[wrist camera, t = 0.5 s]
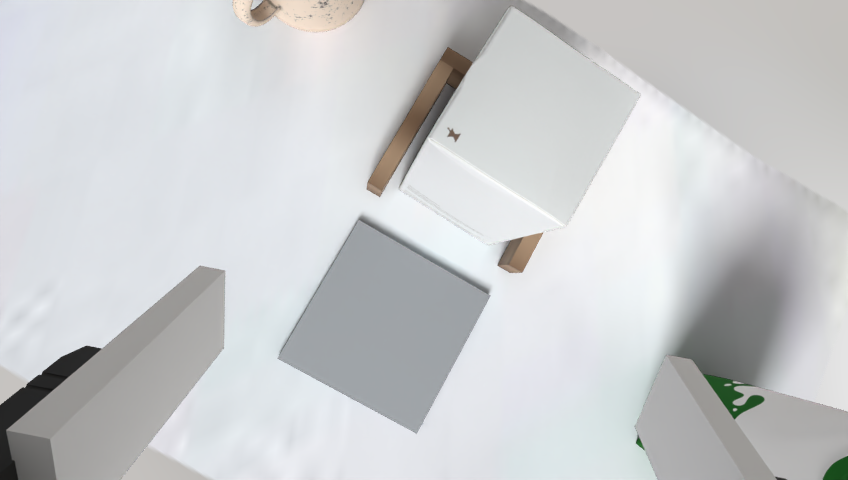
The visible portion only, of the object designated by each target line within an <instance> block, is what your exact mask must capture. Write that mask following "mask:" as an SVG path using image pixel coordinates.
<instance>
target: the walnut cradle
mask: <svg viewBox="0 0 848 480" xmlns="http://www.w3.org/2000/svg"><path fill="white" fill-rule="evenodd" d="M472 64H473V62H471V61H470V60H468V59H466V58H465V57H463V56H462V55H460V54H458V53H457V52H455V51H453V50H452V49H450V48H449V47H447V49H446V51H445V52H444V54H443V56H442V58H441V59H440V61H439V63H438V64H437V66H436V68H435V69H434V71H433V73H432V74H431V76H430V78H429V79H428V81H427V83H426V85H425V86H424V88H423V90H422V91H421V93H420V95H419V96H418V98H417V100H416V101H415V103H414V105H413V106H412V108H411V110H410V112H409V113H408V115H407V117H406V118H405V120H404V122H403V123H402V125H401V127H400V128H399V130H398V132H397V134H396V135H395V137H394V139H393V140H392V142H391V144H390V145H389V147H388V149H387V150H386V152H385V154H384V155H383V157H382V159H381V161H380V162H379V164H378V166H377V167H376V169H375V171H374V172H373V174H372V176H371V177H370V179H369V181H368V183H367V190H369V191H370V192H372V193H374V194H376V195H377V196H379V197H380V196H381V194H382V192H383V191H384V189H385V187H386V186H387V184H388V182H389V180H390V179H391V177H392V175H393V174H394V172H395V170H396V168H397V167H398V165H399V163H400V162H401V160H402V158H403V157H404V155H405V153H406V151H407V150H408V148H409V146H410V145H411V143H412V141H413V139H414V138H415V136H416V134H417V133H418V131H419V129H420V127H421V126H422V124H423V122H424V121H425V119H426V117H427V116H428V114H429V112H430V110H431V109H432V107H433V105H434V104H435V102H436V100H437V98H438V97H439V95H440V93H441V92H442V90H443V88H444V86H445V85H446V83H447V84H449V85H450V86H452V87H454V88H455V89H457V87H458V86H459V84H460V83H461V81H462V79H463V78H464V76H465V75H466V73H467V71H468V70H469V68H470V67H471V65H472ZM542 234H543V232H542V233H538V234H533V235H529V236H525V237H521V238H517V239H513V240H511V241H510V243H509V245H508V247H507V249H506V251H505V252H504V254H503V256H502V258H501V260H500V262H499V264H498V265H497V266H499V267H501V268H503V269H504V270H506V271H508V272H509V273H522V272H523V270H524V268H525V266H526V265H527V263H528V261H529V259H530V257H531V255H532V253H533V251H534V249H535V248H536V246H537V244H538V242H539V240H540V238H541V236H542Z"/></svg>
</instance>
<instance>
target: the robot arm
mask: <svg viewBox="0 0 848 480" xmlns="http://www.w3.org/2000/svg"><path fill="white" fill-rule="evenodd" d="M224 313H225V270H219V269H214V268H209V267H204V266H199V267H198V268H197V269H195V270H194V271H193V272H192V273H191V274H189V275H188V276H187V277H186V278H185V279H184V280H182V281H181V282H180V283H179V284H178V285H177V286H175V287H174V288H173V289H172V290H171V291H169V292H168V293H167V294H166V295H165V296H164V297H162V298H161V299H160V300H159V301H158V302H157V303H155V304H154V305H153V306H152V307H151V308H149V309H148V310H147V311H146V312H145V313H144V314H142V315H141V316H140V317H139V318H138V319H137V320H135V321H134V322H133V323H132V324H131V325H129V326H128V327H127V328H126V329H125V330H124V331H122V332H121V333H120V334H119V335H118V336H117V337H115V338H114V339H113V340H112V341H111V342H109V343H108V344H107V345H106V346H105V347H104V348H102V349H101V348H96V347H91V346H85V347H82V348H80V349H78V350H76V351H74V352H71V353H69V354H67V355H65V356H63V357H61V358H60V359H58V360H57V361H56V362H54V363H53V364H52V365H51V366H49V367H48V368H47V369H46V370H44V371H43V372H42V375H38V376H37V377H35V378H34V379H33V380H32V381H30V382H29V383H28V384H27V386H26V387H25V388H21V389H20V390H19V391H18V392H16V393H15V394H14V395H12V396H11V397H10V398H9V399H7V400H6V401H5V402H4V403H2V404H1V405H0V480H121V479H122V477H123V476H124V475H125V474H126V472H127V471H128V470H129V468H130V467H131V466H132V465H133V463H134V462H135V461H136V459H137V458H138V457H139V456H140V454H141V453H142V452H143V451H144V449H145V448H146V447H147V445H148V444H149V443H150V442H151V440H152V439H153V438H154V437H155V435H156V434H157V433H158V431H159V430H160V429H161V428H162V426H163V425H164V424H165V423H166V421H167V420H168V419H169V417H170V416H171V415H172V414H173V412H174V411H175V410H176V409H177V407H178V406H179V405H180V403H181V402H182V401H183V400H184V398H185V397H186V396H187V394H188V393H189V392H190V391H191V389H192V388H193V387H194V386H195V384H196V383H197V382H198V380H199V379H200V378H201V377H202V375H203V374H204V373H205V372H206V370H207V369H208V368H209V366H210V365H211V364H212V363H213V361H214V360H215V359H216V358H217V356H218V355H219V354H220V352H221V351H222V350H223V349H224ZM635 429H636V431H637V433H638V435H639V438H640V440H641V442H642V445H643V447H644V449H645V452H646V454H647V456H648V458H649V461H650V463H651V465H652V468H653V470H654V472H655V474H656V477H657V479H658V480H787V479H785V478H780V477H775V476H774V475H773V473H772V472H771V471H770V469H769V468H768V466H767V465H766V464H765V462H764V461H763V459H762V458H761V457H760V455H759V454H758V452H757V451H756V449H755V448H754V447H753V445H752V444H751V442H750V441H749V440H748V438H747V437H746V435H745V434H744V432H743V431H742V430H741V428H740V427H739V425H738V424H737V423H736V421H735V420H734V418H733V417H732V415H731V414H730V413H729V411H728V410H727V408H726V407H725V406H724V404H723V403H722V401H721V400H720V398H719V397H718V396H717V394H716V393H715V391H714V390H713V389H712V387H711V386H710V384H709V383H708V381H707V380H706V379H705V377H704V376H703V374H702V373H701V372H700V370H699V369H698V367H697V366H696V364H695V363H694V362H693V360H692V359H687V358H681V357H676V356H671V355H666V356H665V358H664V361H663V363H662V365H661V367H660V370H659V372H658V374H657V377H656V379H655V381H654V384H653V386H652V388H651V391H650V393H649V395H648V398H647V400H646V402H645V404H644V407H643V409H642V411H641V414H640V416H639V418H638V421H637V423H636V425H635Z"/></svg>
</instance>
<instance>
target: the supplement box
mask: <svg viewBox="0 0 848 480" xmlns="http://www.w3.org/2000/svg"><path fill="white" fill-rule="evenodd" d="M639 98H640V93H638V92H636V91H635V90H633V89H632V88H631V87H629V86H628V85H627V84H625V83H624V82H622V81H621V80H620V79H618V78H617V77H615V76H614V75H612V74H611V73H609V72H607V71H606V70H605V69H603V68H602V67H600V66H598V65H597V64H595V63H594V62H593V61H591V60H590V59H588V58H587V57H585V56H584V55H583V54H581V53H580V52H578V51H577V50H575V49H574V48H572V47H571V46H570V45H568V44H567V43H565V42H564V41H563V40H561V39H560V38H558V37H557V36H556V35H554V34H553V33H551V32H550V31H549V30H547V29H546V28H544V27H543V26H542V25H540V24H539V23H537V22H536V21H534V20H533V19H532V18H530V17H529V16H527V15H526V14H524V13H523V12H521V11H520V10H518V9H517V8H515V7H514V6H510V7H509V8H508V9H507V10H506V12H505V14H504V15H503V17H502V18H501V20H500V21H499V23H498V25H497V26H496V28H495V29H494V31H493V32H492V34H491V35H490V37H489V38H488V40H487V42H486V43H485V45H484V46H483V48H482V49H481V51H480V52H479V54H478V56H477V57H476V59H475V60H474V62H473V64H472V65H471V67H470V68H469V70H468V71H467V73H466V75H465V76H464V78H463V79H462V81H461V83H460V84H459V86H458V87H457V89H456V91H455V92H454V94H453V95H452V97H451V99H450V100H449V102H448V104H447V105H446V107H445V109H444V110H443V112H442V113H441V115H440V117H439V118H438V120H437V122H436V123H435V125H434V127H433V128H432V130H431V132H430V133H429V135H428V137H427V138H426V140H425V142H424V144H423V146H422V147H421V149H420V151H419V153H418V154H417V156H416V158H415V160H414V162H413V163H412V165H411V167H410V169H409V171H408V172H407V174H406V176H405V178H404V180H403V182H402V183H401V185H400V187H399V190H400V191H402V192H403V193H405V194H406V195H408V196H409V197H411V198H413V199H414V200H416V201H417V202H419V203H420V204H422V205H424V206H425V207H427V208H428V209H430V210H431V211H433V212H435V213H436V214H438V215H439V216H441V217H443V218H444V219H446V220H447V221H449V222H450V223H452V224H454V225H455V226H457V227H458V228H460V229H461V230H463V231H465V232H466V233H468V234H469V235H471V236H472V237H474V238H476V239H477V240H479V241H481V242H482V243H484V244H486V245H492V244H496V243H500V242H505V241H509V240H513V239H517V238H521V237H525V236H529V235H533V234H538V233H542V232H547V231H551V230H555V229H559V228H564V227H566V226H567V225H568V223H569V221H570V220H571V218H572V216H573V214H574V213H575V211H576V209H577V207H578V206H579V204H580V202H581V200H582V198H583V197H584V195H585V193H586V191H587V190H588V188H589V186H590V184H591V183H592V181H593V179H594V177H595V175H596V174H597V172H598V170H599V168H600V167H601V165H602V163H603V161H604V160H605V158H606V156H607V154H608V153H609V151H610V149H611V147H612V146H613V144H614V142H615V140H616V139H617V137H618V135H619V133H620V132H621V130H622V128H623V126H624V124H625V123H626V121H627V119H628V117H629V115H630V114H631V112H632V110H633V108H634V106H635V105H636V103H637V101H638V99H639Z"/></svg>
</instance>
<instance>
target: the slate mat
mask: <svg viewBox="0 0 848 480" xmlns="http://www.w3.org/2000/svg"><path fill="white" fill-rule="evenodd" d="M489 298H490V295H488V294H487V293H485V292H483V291H482V290H480V289H478V288H476V287H475V286H473V285H471V284H469V283H468V282H466V281H464V280H462V279H461V278H459V277H457V276H455V275H454V274H452V273H450V272H449V271H447V270H445V269H443V268H442V267H440V266H438V265H436V264H435V263H433V262H431V261H429V260H428V259H426V258H424V257H422V256H421V255H419V254H417V253H416V252H414V251H412V250H410V249H409V248H407V247H405V246H403V245H402V244H400V243H398V242H396V241H395V240H393V239H391V238H390V237H388V236H386V235H384V234H383V233H381V232H379V231H377V230H376V229H374V228H372V227H370V226H369V225H367V224H365V223H363V222H362V221H360V220H358V222H357V224H356V225H355V227H354V229H353V231H352V232H351V234H350V236H349V237H348V239H347V241H346V242H345V244H344V246H343V248H342V249H341V251H340V253H339V254H338V256H337V258H336V260H335V261H334V263H333V265H332V266H331V268H330V270H329V271H328V273H327V275H326V277H325V278H324V280H323V282H322V283H321V285H320V287H319V288H318V290H317V292H316V294H315V295H314V297H313V299H312V300H311V302H310V304H309V305H308V307H307V309H306V311H305V312H304V314H303V316H302V317H301V319H300V321H299V322H298V324H297V326H296V328H295V329H294V331H293V333H292V334H291V336H290V338H289V339H288V341H287V343H286V345H285V346H284V348H283V350H282V351H281V353H280V355H279V356H278V359H279V360H281V361H283V362H285V363H287V364H289V365H291V366H292V367H294V368H296V369H298V370H300V371H302V372H304V373H305V374H307V375H309V376H311V377H313V378H315V379H317V380H318V381H320V382H322V383H324V384H326V385H328V386H329V387H331V388H333V389H335V390H337V391H339V392H341V393H342V394H344V395H346V396H348V397H350V398H352V399H354V400H355V401H357V402H359V403H361V404H363V405H365V406H367V407H368V408H370V409H372V410H374V411H376V412H378V413H379V414H381V415H383V416H385V417H387V418H389V419H391V420H392V421H394V422H396V423H398V424H400V425H402V426H404V427H405V428H407V429H409V430H411V431H413V432H415V433H417V432H418V430H419V429H420V427H421V425H422V423H423V421H424V419H425V417H426V415H427V414H428V412H429V410H430V408H431V406H432V404H433V402H434V400H435V399H436V397H437V395H438V393H439V391H440V389H441V387H442V386H443V384H444V382H445V380H446V378H447V376H448V374H449V372H450V371H451V369H452V367H453V365H454V363H455V361H456V359H457V357H458V356H459V354H460V352H461V350H462V348H463V346H464V344H465V343H466V341H467V339H468V337H469V335H470V333H471V331H472V329H473V328H474V326H475V324H476V322H477V320H478V318H479V316H480V314H481V313H482V311H483V309H484V307H485V305H486V303H487V301H488V299H489Z"/></svg>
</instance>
